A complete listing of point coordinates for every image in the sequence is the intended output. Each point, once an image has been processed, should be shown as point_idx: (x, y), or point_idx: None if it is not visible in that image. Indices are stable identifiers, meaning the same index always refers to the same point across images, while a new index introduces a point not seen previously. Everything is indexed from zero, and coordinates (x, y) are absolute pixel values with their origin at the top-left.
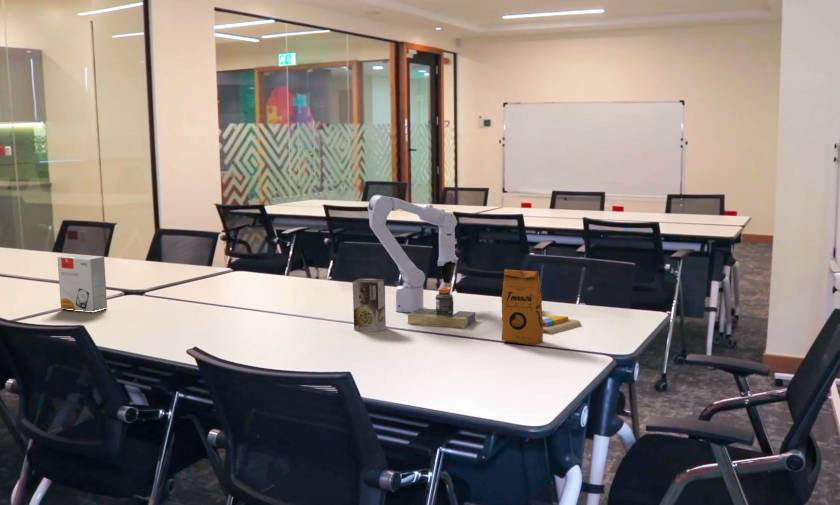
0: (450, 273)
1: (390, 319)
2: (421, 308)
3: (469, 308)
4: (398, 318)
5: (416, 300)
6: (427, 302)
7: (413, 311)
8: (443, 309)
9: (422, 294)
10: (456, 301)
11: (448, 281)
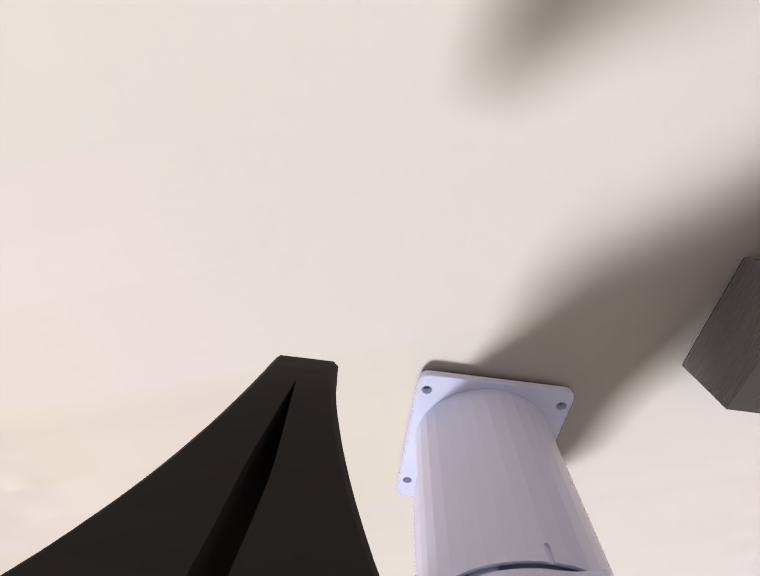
0: (328, 494)
1: (737, 488)
2: (738, 399)
3: (307, 35)
4: (715, 460)
5: (571, 478)
6: (202, 403)
7: (561, 426)
8: None
9: (533, 488)
10: (65, 228)
11: (335, 388)
